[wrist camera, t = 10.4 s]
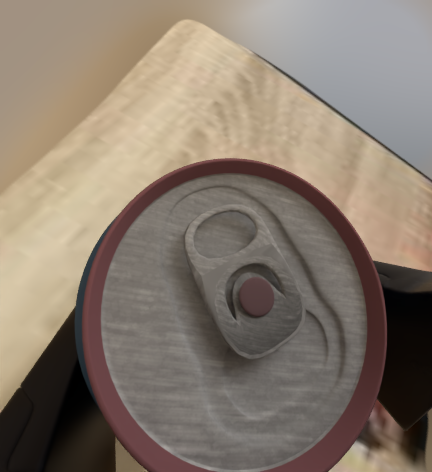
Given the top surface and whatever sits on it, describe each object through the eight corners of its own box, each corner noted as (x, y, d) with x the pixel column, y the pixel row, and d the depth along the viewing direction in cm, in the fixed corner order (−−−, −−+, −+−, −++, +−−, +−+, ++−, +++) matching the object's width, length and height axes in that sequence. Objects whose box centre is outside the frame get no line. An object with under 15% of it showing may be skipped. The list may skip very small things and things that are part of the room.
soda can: (246, 322, 16) (467, 375, 5) (152, 378, 13) (143, 773, 2) (205, 236, 17) (307, 108, 6) (111, 273, 14) (-36, 181, 3)
